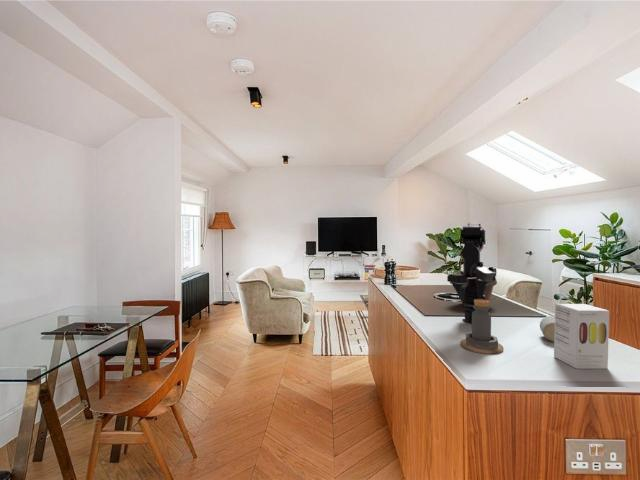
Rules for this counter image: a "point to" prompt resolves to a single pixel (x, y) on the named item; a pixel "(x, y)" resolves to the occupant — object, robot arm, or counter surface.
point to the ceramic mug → (548, 327)
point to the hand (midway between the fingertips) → (471, 299)
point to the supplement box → (581, 335)
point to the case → (487, 292)
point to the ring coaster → (495, 351)
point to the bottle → (481, 320)
